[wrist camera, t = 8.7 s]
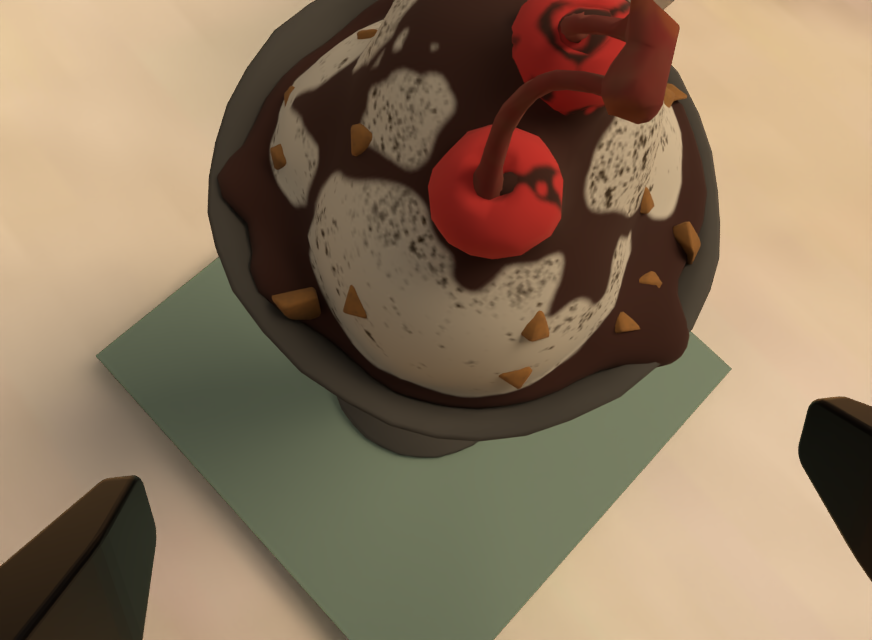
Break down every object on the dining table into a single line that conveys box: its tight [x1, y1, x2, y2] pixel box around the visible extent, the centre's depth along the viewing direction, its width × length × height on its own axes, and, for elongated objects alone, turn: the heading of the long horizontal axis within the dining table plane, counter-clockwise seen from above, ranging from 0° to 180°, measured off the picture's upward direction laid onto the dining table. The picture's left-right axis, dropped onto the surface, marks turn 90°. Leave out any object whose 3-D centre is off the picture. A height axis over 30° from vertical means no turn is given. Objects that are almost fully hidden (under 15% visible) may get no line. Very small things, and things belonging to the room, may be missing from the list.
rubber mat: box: [96, 257, 732, 640], centre depth 19 cm, size 12×12×1 cm
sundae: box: [208, 0, 720, 458], centre depth 11 cm, size 7×7×15 cm
